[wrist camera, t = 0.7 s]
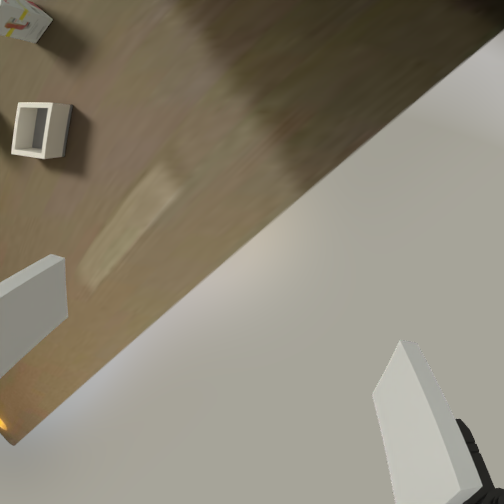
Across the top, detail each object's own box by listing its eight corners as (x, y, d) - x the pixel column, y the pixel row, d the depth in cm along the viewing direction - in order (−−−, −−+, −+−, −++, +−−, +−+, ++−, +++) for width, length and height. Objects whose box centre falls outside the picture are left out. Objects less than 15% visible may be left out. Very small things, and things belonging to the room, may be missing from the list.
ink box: (17, 25, 32) (-31, 13, 21) (34, 2, 31) (-13, -15, 19) (35, 45, 33) (-17, 33, 22) (54, 20, 32) (3, 2, 21)
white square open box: (38, 103, 36) (18, 102, 32) (72, 104, 36) (52, 102, 32) (31, 151, 39) (11, 153, 34) (64, 156, 38) (44, 159, 34)
